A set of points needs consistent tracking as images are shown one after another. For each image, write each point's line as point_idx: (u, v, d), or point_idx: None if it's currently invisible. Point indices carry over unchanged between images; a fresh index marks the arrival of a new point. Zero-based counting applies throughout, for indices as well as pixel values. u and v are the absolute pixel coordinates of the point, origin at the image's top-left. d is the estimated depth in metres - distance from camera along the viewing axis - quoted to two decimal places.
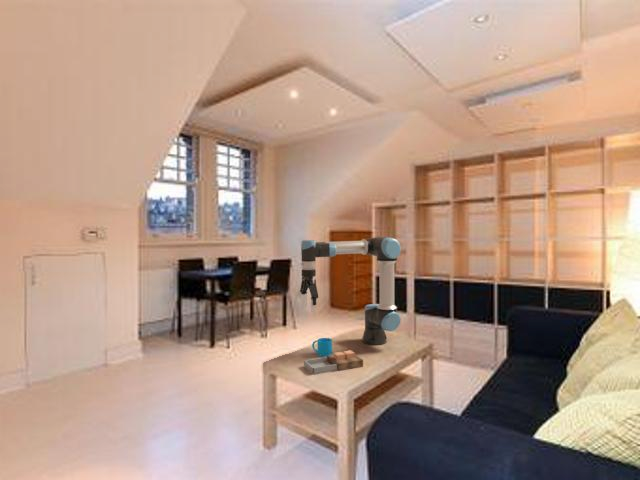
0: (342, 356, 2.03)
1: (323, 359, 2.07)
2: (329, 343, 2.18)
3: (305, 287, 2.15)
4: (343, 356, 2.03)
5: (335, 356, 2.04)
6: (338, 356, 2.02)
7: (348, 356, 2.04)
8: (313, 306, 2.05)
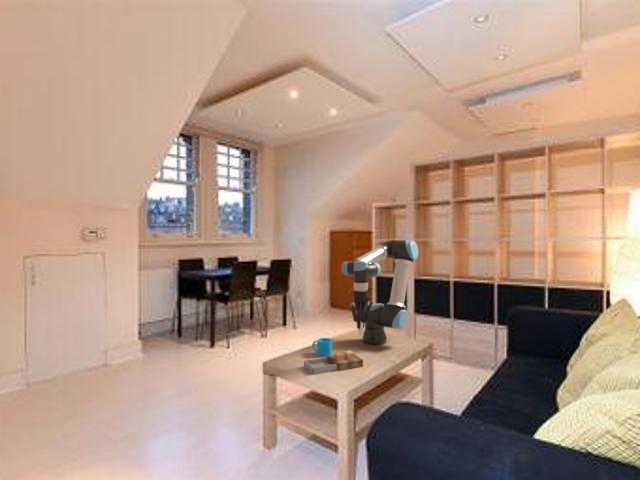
0: (342, 356, 2.03)
1: (323, 359, 2.07)
2: (329, 343, 2.18)
3: (361, 311, 2.09)
4: (343, 356, 2.03)
5: (335, 356, 2.04)
6: (338, 356, 2.02)
7: (348, 356, 2.04)
8: (359, 329, 2.09)
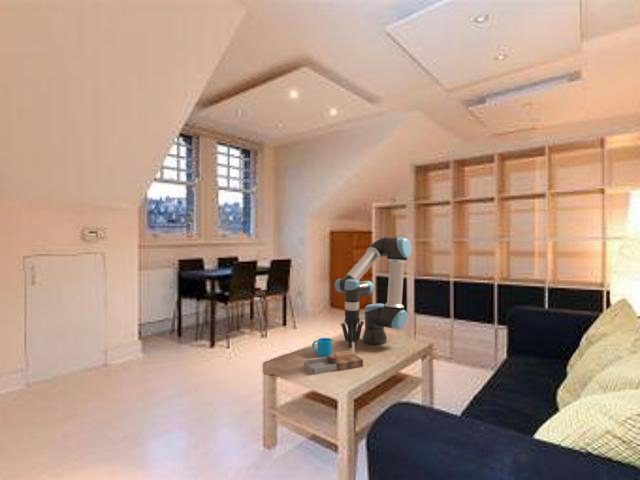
0: (342, 356, 2.03)
1: (323, 359, 2.07)
2: (329, 343, 2.18)
3: (353, 330, 2.08)
4: (343, 356, 2.03)
5: (335, 356, 2.04)
6: (338, 356, 2.02)
7: (346, 356, 2.04)
8: (350, 349, 2.08)
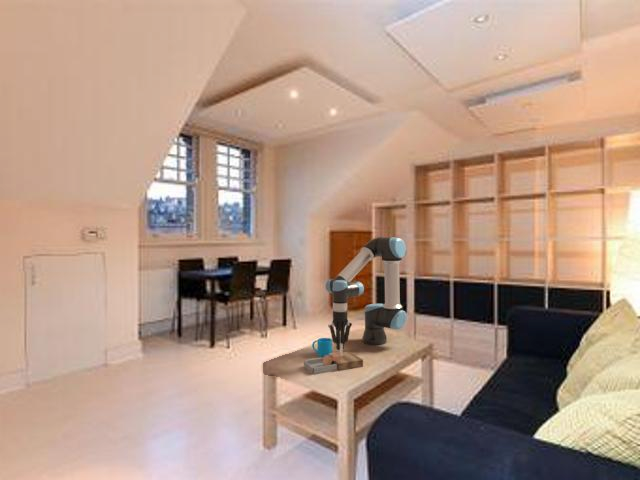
0: (329, 360, 2.00)
1: None
2: (329, 343, 2.18)
3: (341, 331, 2.05)
4: (329, 359, 2.00)
5: (325, 365, 2.01)
6: (326, 364, 1.99)
7: (334, 358, 2.01)
8: (338, 350, 2.05)
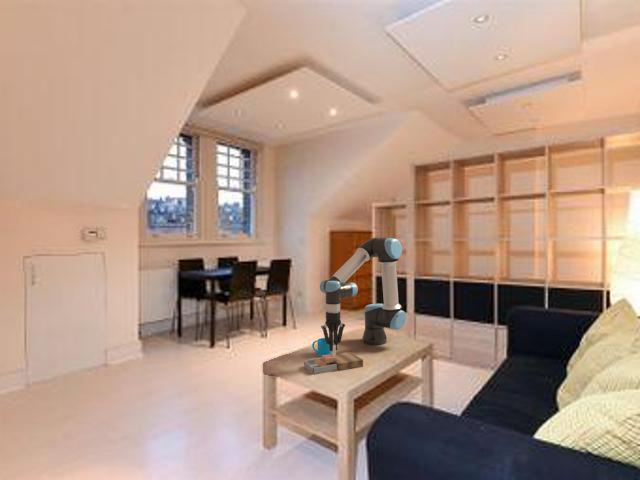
0: (321, 364, 1.98)
1: None
2: None
3: (334, 332, 2.03)
4: (320, 363, 1.98)
5: None
6: None
7: (327, 360, 1.99)
8: (331, 352, 2.03)
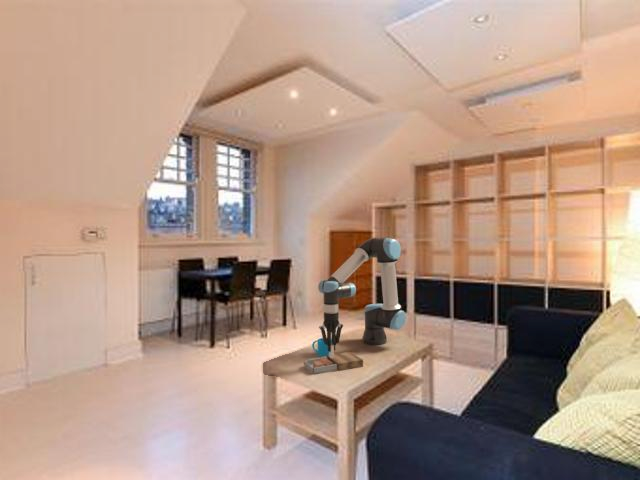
0: None
1: None
2: None
3: (332, 333, 2.03)
4: None
5: None
6: None
7: (326, 361, 1.99)
8: (329, 352, 2.03)
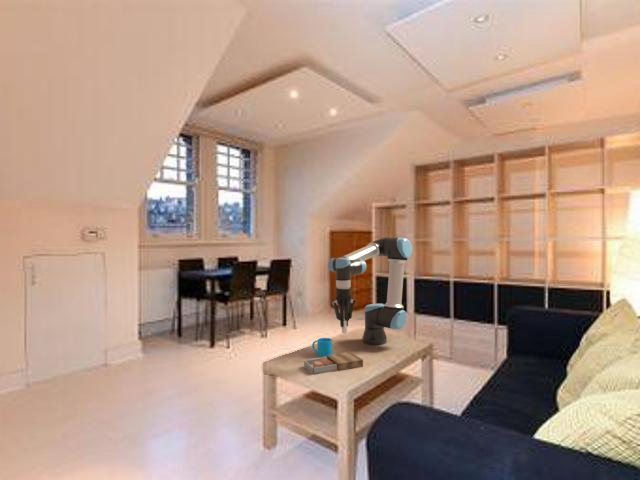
0: None
1: None
2: (329, 343, 2.18)
3: (344, 309, 2.05)
4: None
5: None
6: None
7: (326, 361, 1.99)
8: (342, 328, 2.05)
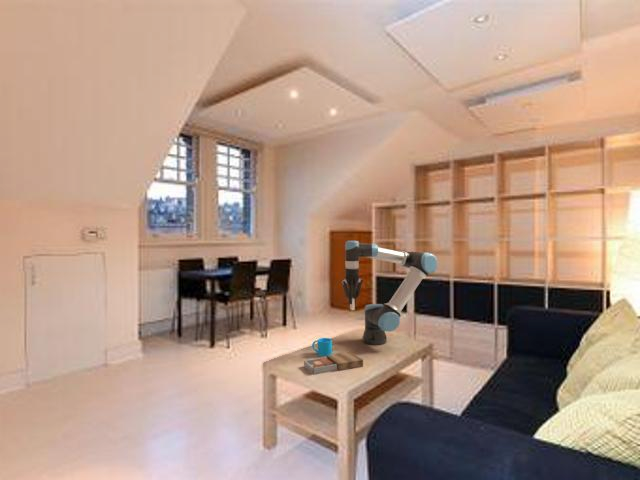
0: None
1: None
2: (329, 343, 2.18)
3: (353, 287, 2.24)
4: None
5: None
6: None
7: (326, 361, 1.99)
8: (350, 305, 2.24)
